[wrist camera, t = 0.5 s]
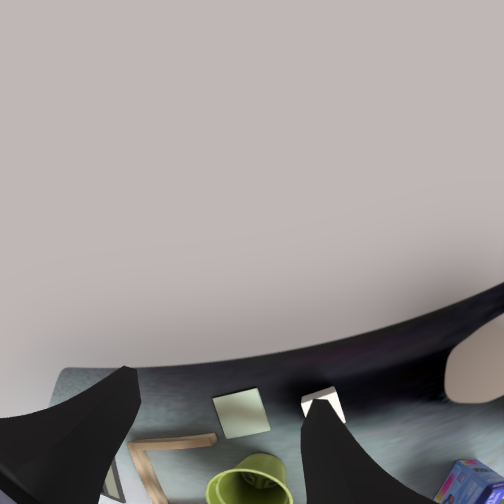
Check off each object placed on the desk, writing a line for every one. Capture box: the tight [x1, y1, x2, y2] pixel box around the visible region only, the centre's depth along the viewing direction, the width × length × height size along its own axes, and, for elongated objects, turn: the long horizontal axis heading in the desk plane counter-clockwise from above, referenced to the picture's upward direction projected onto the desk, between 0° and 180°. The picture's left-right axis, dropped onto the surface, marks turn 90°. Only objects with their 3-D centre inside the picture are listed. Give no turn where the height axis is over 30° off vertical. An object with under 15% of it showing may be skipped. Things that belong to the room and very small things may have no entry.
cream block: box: [301, 386, 346, 423], centre depth 27 cm, size 4×4×4 cm
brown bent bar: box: [127, 388, 271, 504], centre depth 28 cm, size 19×21×2 cm
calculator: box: [101, 457, 126, 503], centre depth 31 cm, size 12×1×15 cm
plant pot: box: [205, 453, 293, 504], centre depth 23 cm, size 9×9×9 cm
